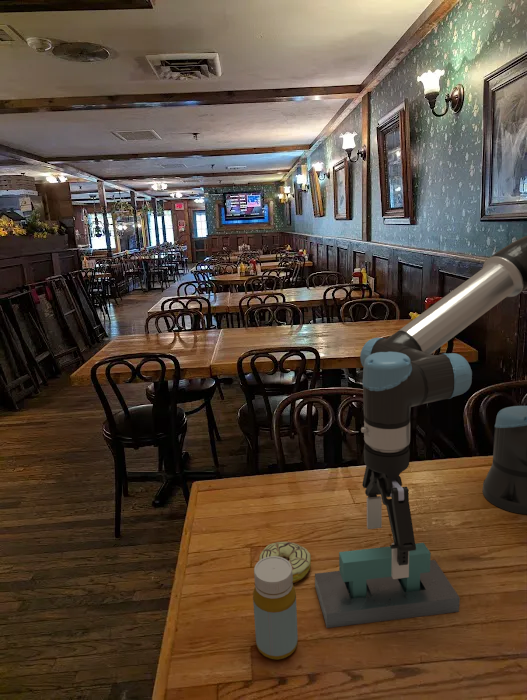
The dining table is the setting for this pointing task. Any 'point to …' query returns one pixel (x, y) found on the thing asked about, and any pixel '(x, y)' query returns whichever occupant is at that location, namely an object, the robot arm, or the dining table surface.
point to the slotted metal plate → (384, 598)
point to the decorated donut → (290, 557)
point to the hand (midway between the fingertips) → (386, 550)
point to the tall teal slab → (380, 567)
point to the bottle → (275, 608)
